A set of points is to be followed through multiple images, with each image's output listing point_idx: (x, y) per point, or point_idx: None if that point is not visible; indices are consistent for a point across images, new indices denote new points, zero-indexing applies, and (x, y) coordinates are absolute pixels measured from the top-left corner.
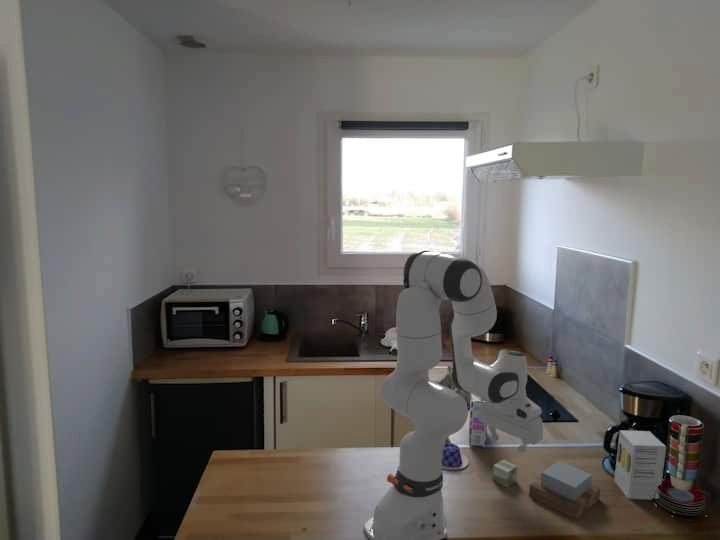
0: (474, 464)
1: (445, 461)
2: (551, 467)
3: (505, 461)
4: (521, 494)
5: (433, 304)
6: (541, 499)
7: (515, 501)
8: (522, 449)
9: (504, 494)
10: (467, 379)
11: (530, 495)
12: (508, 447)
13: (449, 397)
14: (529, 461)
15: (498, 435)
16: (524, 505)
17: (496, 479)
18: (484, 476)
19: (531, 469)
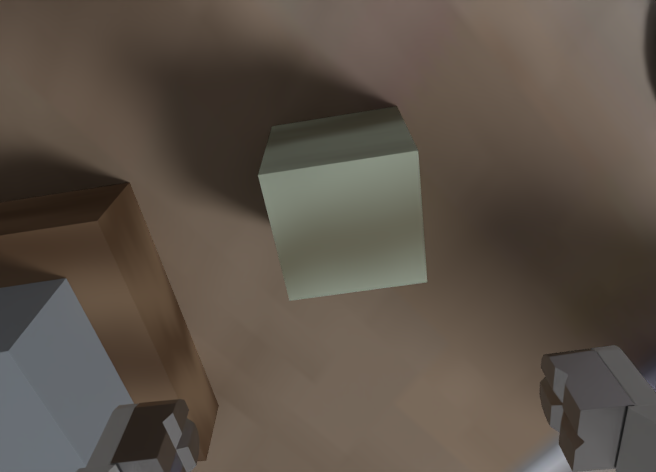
0: (622, 144)
1: None
2: (59, 446)
3: (396, 278)
4: (158, 149)
5: None
6: (34, 203)
7: (97, 40)
8: (100, 446)
9: (206, 36)
10: None
11: (116, 186)
12: None
13: None
14: (402, 421)
15: (565, 453)
16: (32, 61)
17: (364, 117)
18: (467, 87)
19: (341, 381)
